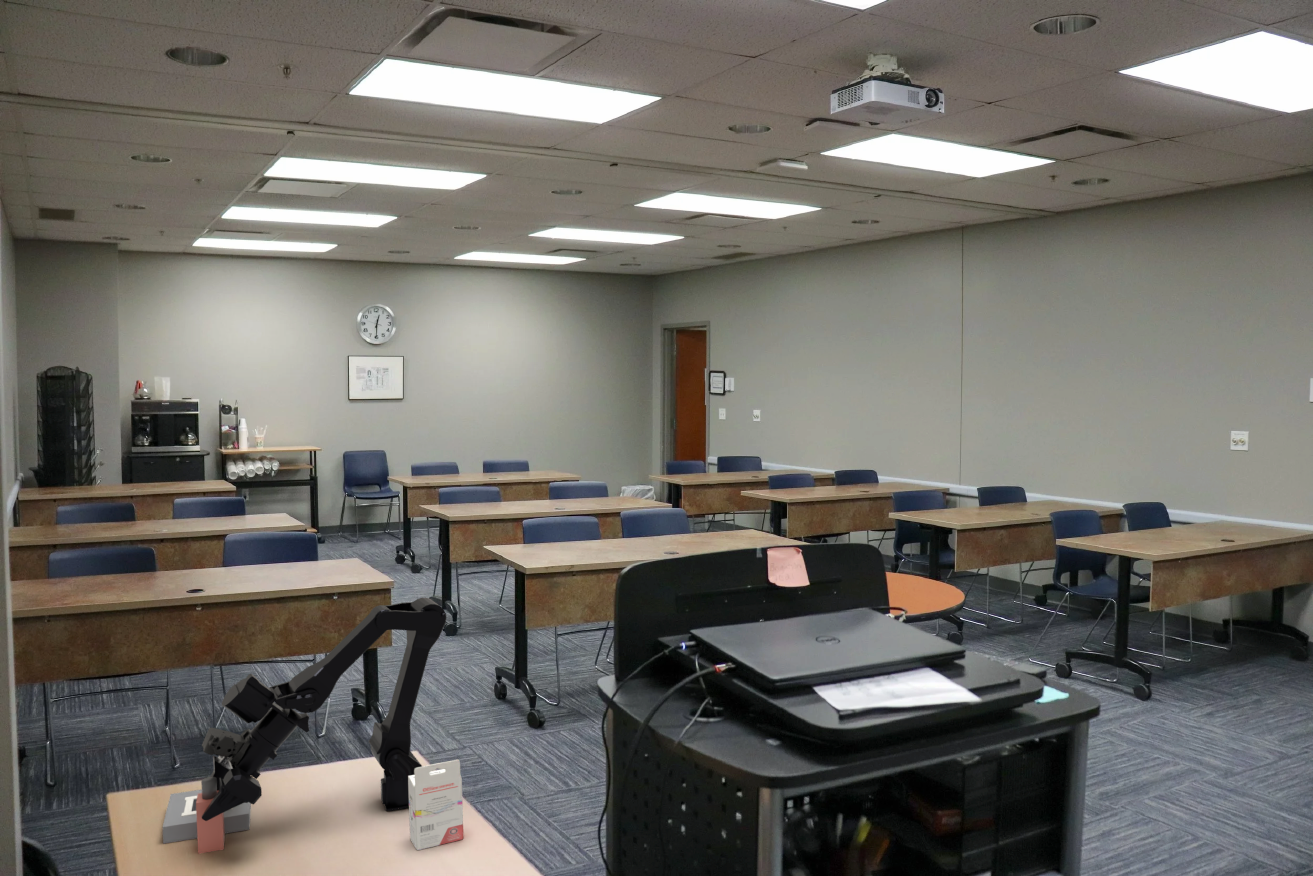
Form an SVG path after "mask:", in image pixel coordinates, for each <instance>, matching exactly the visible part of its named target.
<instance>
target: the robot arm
mask: <svg viewBox="0 0 1313 876" xmlns="http://www.w3.org/2000/svg"><path fill="white" fill-rule="evenodd" d="M446 622H447V613H446V611H445V609H444V608H443V607H442V606H440V605H439V604H438V603H437V602H435V601H434V600H433V599H431V598H428V597H419V598H417V599H415V600H413V601H409V602H408V601H407V602H406V601H405V602H398V603H394V604H388V605H376V606H374V607H373V608H372V609H371V611H370V612H369V614H368V615H366V616H365V618H363V620H362V621H360V622H359V623H358V625H357V626H355V628H353V629H352V630H351V631H350V632H349V633H348V634H347V635H346V636H345V637H344V638H342V640H341V641H340V642H339V643H338V644H337V645H336V646H335V647H334V648H333V649H332V650H331V651H330V652H329V653H328V654H327V655H326V656H324V657H323V658H322V659H321V660H318V662H315V663H313V664H312V665H309V666H307V667H306V668H304V669H303V670H301V671H300V672H299V673H298V674H296V675H294V676H293V677H292V678H291V679H290V680H289V681H284V682H282V683H279V684H276V685H272V686H269V687H268V686H267V685H266V684H264V683H263V682H261V681H260V680H259V679H258V678H257V676H255V675H254V674H252V673H249V674H248V675H247V676H246V677H245V678H242V679H240V680H239V681H238V682H237V683H236V684H235V683H234V684H233V685H232V686H231V687H230V688H229V689H228V691H227V692H226V693H225V695H224V697H223V699H222V701H221V706H222V707H224V708H225V709H227V710H228V711H229V712H231V713H232V714H234V715H235V716H236V717H238V718H239V719H241V720H242V721H243V722H245V723H246V724H251V723H254V724H255V723H257V724H256V725H254V727H253V728H252V729H250V728H247V729H244V730H243V731H242V733H240V734H238V733H234V732H233V731H228V730H224V729H219V728H215V727H209V728H208V730H207V732H206V735H205V737H204V739H203V742H202V744H201V747H202V748H203V751H202V752H203V753H204V754H206V755H211V756H212V762H213V771H212V772H211V775H210V777H216V778H217V791H218V790H219V791H218V793H217V794H216V796H215V797H214V799H213V800H212V802H211V803H210V805H209V806H208V807H207V809H206V810H205V812H204V814H203V815H202V819H203V820H205V821H208V820H210V819H212V818H214V817H216V816H218V815H220V814H221V813H223V812H225V811H227V810H229V809H232V808H234V807H236V806H238V805H240V804H243V803H248V802H249V803H251V805H255V804H256V802H258V800H259V799H260V798H261V797H262V795H263V794H262V793H263V792H262V787H261V784H260V782H259V780H258V779H259V777H260V776H261V772H260V770H261V769H262V768H263V766H264V765H266V763H267V762H268V761H269V759H271V760H275V759H276V757H277V756H278V754H277V751H278V749H279V748H280V747H281V746H282V745H283V744H284V742H286V740H287V739H288V738H289V737H290V736H291V734H292V733H293V732H294V731H295V730H296V729H297V728H299V729H301V730H302V731H303V732H305V733H309V731H310V726H309V720H310V716H309V713H310V714H313V713H314V712H316V711H318V710H319V709H320V708H321V707H322V706H323V705H324V703H325V702H326V701H327V700H328V698H330V697H329V696H331V694H332V692H333V691H334V689H335V687H336V684H337V683H338V680H339V679H341V677H342V676H343V674H344V673H345V672H346V671H348V669H350V668H351V667H352V665H353V664H354V663H355V662H357V661H358V659H360V657H362V656H363V654H364V653H366V651H368V650H369V649H370V648H371V647H372V646H373V645H374V644H375V643H376V642H377V641H378V640H379V638H381V637H382V636H383V635H384V634H385V633H386V632H387V631H391V630H392V631H394V630H395V631H406V646H405V650H404V653H403V657H402V661H401V665H400V667H399V672H398V676H397V679H396V681H395V682H396V683H395V686H394V689H393V694H392V698H391V701H390V705H389V707H388V708H389V709H388V713H387V715H386V717H385V718H384V720H382V722H381V723H380V722H377V721H375V722H373V728H372V729H373V730H372V735H371V737H370V739H369V740H368V743H369V745H370V750H371V753H372V755H373V757H374V758H375V760H376V761H377V763H378V764H379V766H380V767H381V769H383V778H381V779H380V798H381V803H382V805H384V807H385V811H386V812H391V811H396V810H404V809H409V791H408V776H411V775H415V774H414V770H415V768H417V767H423V765H422V763H420V761H419V760H418V759H417V757H416V756H415V755H414V753H413V752H412V751H411V747H412V746H411V745H412V744H411V743H412V733H411V732H412V731H411V721H412V717H413V714H414V710H415V706H416V702H417V699H418V696H419V691H420V688H421V684H422V681H423V676H424V673H425V669H426V666H427V661H428V658H429V654H430V651H431V649H432V648H433V647H434V645H435V644H436V642H437V641H438V640H439V638H440V636H441V634H442V632H443V629H444V627H445V626H446Z"/></svg>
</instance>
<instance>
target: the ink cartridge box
mask: <svg viewBox="0 0 1313 876" xmlns="http://www.w3.org/2000/svg"><path fill="white" fill-rule="evenodd" d="M414 774H415V775H411V776H408V791H409V808H408V813H409V814H408V816H409V818H408V819H409V837H410V838H409V839H410V841H411V843H412V845H413V846H414V848H415V850H417V851H420V850H424V849H425V850H426V849H429V848H432V847H437V846H441V845H444V844H450V843H454V842H457V841H461V840H463V839H464V814H463V812H464V811H463V807H464V806H463V780H462V776H461V762H460V760H459V759H453V760H449V761H443V762H442V761H441V762H438V763H434V764H428V765H422V767H417V768H415V770H414Z"/></svg>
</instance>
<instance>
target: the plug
mask: <svg viewBox="0 0 1313 876" xmlns="http://www.w3.org/2000/svg"><path fill="white" fill-rule="evenodd" d="M201 789H202V793H198V796H197V801H196V813H197V836H198V838H197V854H198V855H200V854H205V853H210V852H215V851H216V852H217V851H222V850H224V849H225V839H226V835H225V834H226V833H225V832H224V812H223V813H221V814H220V815H218V816H216V817H214V818H212V819H210V820H208V821H205V820H203V819H202V815H203V814H204V812H205V810H206V809H207V807H208V806H209V805H210V803H211V802H212V800H213V799H214V797H215V796H216V794H217V793H218V791H219V790H218V791H217V778H216V777H211V776H208V777H204V778H202V779H201Z"/></svg>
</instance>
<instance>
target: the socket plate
mask: <svg viewBox="0 0 1313 876" xmlns="http://www.w3.org/2000/svg"><path fill="white" fill-rule="evenodd" d="M198 793H202V788H201V789H196V790H188V791H183V792H182V791H181V792H176V793H175V792H174V793H170V795H169V800H168V804H167V808H166V811H165V815H164V820H163V823H162V843H163V845H164V844H169V843H175V842H176V843H177V842H181V841H188V840H193V839H198V836H197V813H196V801H197V796H198ZM251 809H252V804H251V803H249V802H248V803H243V804H240V805H238V806H236V807H234V808H232V809H229V810H227V811H225V812H224V832H225V834H230V833H231V834H232V833H237V832H243V831H249V830H250V826H251V812H252V810H251Z"/></svg>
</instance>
